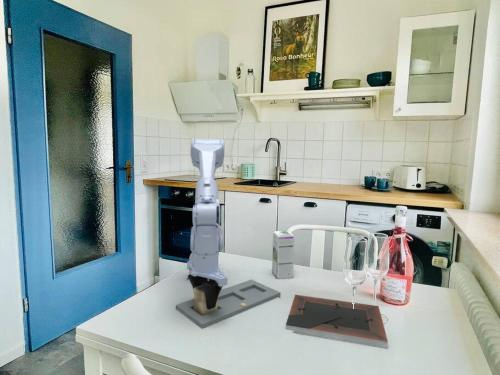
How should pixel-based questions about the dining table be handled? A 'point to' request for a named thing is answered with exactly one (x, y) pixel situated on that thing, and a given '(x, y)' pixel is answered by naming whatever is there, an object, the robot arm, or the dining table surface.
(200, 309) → the frame block
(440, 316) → the dining table surface
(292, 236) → the syrup box
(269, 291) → the paneled door
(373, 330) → the picture frame
